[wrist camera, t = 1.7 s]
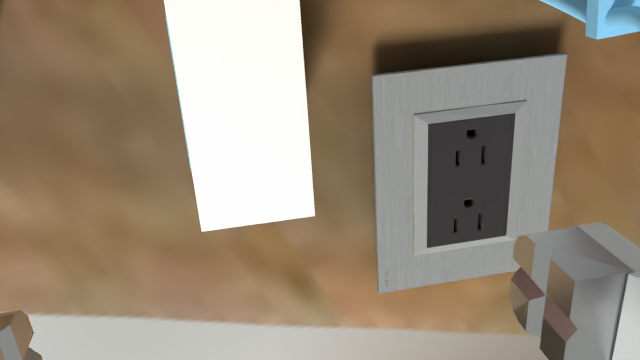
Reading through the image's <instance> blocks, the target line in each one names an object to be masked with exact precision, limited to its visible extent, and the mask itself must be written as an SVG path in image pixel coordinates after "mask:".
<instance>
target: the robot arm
mask: <svg viewBox="0 0 640 360" xmlns="http://www.w3.org/2000/svg"><path fill="white" fill-rule="evenodd" d="M513 259H514V260H515V261H516V263H517V264H518V265H519V267H520V268H519V269H518V270H517V272H516V273H515V274H514V276H513V277H512V278H511V284H510V298H511V303H512V308H513V311H514V314H515V316H516V318H517V320H518V322H519V323H520V324H521V326H522V327H523V328H524V330H525V331H526V332H528V333H531V334H533V335H535V336H537V337H539V338H541V341H540V350H541V351H542V352H543V353H544V355H545V356H546V357H547V358H548V360H640V248H639V247H637V246H636V245H635V244H633V243H632V242H631V241H629V240H628V239H626V238H625V237H624V236H622V235H621V234H620V233H618V232H617V231H615V230H614V229H613V228H611V227H610V226H609V225H607V224H605V223H601V222H594V223H589V224H584V225H578V226H573V227H569V228H563V229H558V230H552V231H546V232H541V233H535V234H529V235H524V236H518V237H517V239H516V242H515V244H514V250H513ZM33 333H34V332H33V329H32V327H31V324H30V321H29V318H28V316H27V315H26V314H25V313H23V312H22V311H15V312H7V313H0V360H42V357H41V355H40V354H38V353H37V352H35V351H34V350H32V349H31V348H29V347H28V346H29V344H30V341H31V339H32V336H33Z"/></svg>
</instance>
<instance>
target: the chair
mask: <svg viewBox="0 0 640 360" xmlns="http://www.w3.org/2000/svg"><path fill="white" fill-rule="evenodd" d="M540 1H542V2H544V3H547V4H549V5H551V6H553V7H555V8H557V9H559V10H561V11H563V12H566V13H568V14H570V15H572V16H573V17H575V18H577V19H579V20H581V21H583V22H585V23H586V29H585V36H587V37H591V38H594V39H602V38H607V37H612V36H617V35H623V34H627V33H632V32H637V31H640V0H540Z"/></svg>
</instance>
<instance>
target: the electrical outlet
mask: <svg viewBox="0 0 640 360" xmlns="http://www.w3.org/2000/svg"><path fill="white" fill-rule="evenodd" d="M566 61H567V54H566V53H559V54H550V55H542V56H533V57H524V58H515V59H506V60H497V61H488V62H479V63H471V64H462V65H453V66H444V67H435V68H426V69H417V70H408V71H400V72H391V73H382V74H373V75H371V84H372V117H373V151H374V184H375V217H376V251H377V284H378V292H379V293H385V292H391V291H397V290H403V289H409V288H415V287H421V286H427V285H433V284H439V283H445V282H451V281H457V280H463V279H469V278H475V277H481V276H487V275H493V274H499V273H505V272H511V271H517V270H518V269H519V268H520V267H519V265H518V264H517V263H516V261H515V260H514V259H513V250H514V244H515V242H516V239H517V237H518V236H524V235H529V234H535V233H541V232H546V231H548V226H549V217H550V208H551V198H552V189H553V180H554V171H555V162H556V153H557V144H558V134H559V125H560V116H561V107H562V98H563V89H564V80H565V70H566Z"/></svg>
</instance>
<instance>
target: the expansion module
mask: <svg viewBox="0 0 640 360" xmlns="http://www.w3.org/2000/svg"><path fill="white" fill-rule="evenodd" d="M164 4H165V11H166V22H167V28H168V34H169V40H170V46H171V52H172V58H173V64H174V71H175V77H176V83H177V89H178V95H179V101H180V107H181V113H182V119H183V125H184V131H185V137H186V144H187V150H188V156H189V162H190V168H191V170H192V175H193V181H194V187H195V194H196V200H197V206H198V212H199V218H200V224H201V230H202V231H209V230H217V229H224V228H231V227H238V226H246V225H253V224H260V223H267V222H275V221H282V220H289V219H296V218H304V217H311V216H315V211H314V196H313V182H312V168H311V154H310V140H309V126H308V112H307V98H306V84H305V70H304V56H303V42H302V27H301V13H300V0H164Z"/></svg>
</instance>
